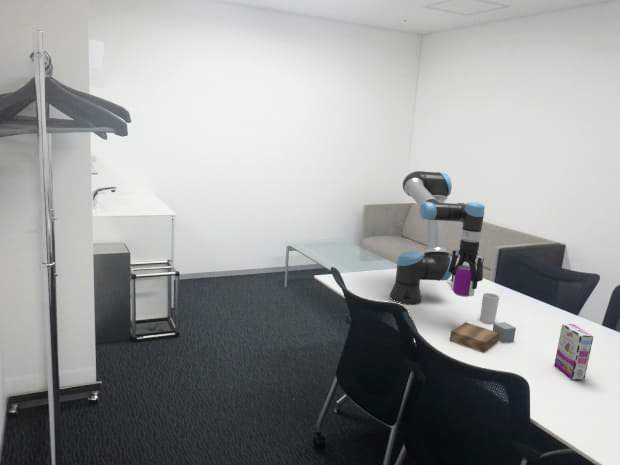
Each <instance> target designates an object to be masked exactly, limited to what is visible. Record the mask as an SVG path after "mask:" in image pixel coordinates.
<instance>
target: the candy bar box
mask: <svg viewBox="0 0 620 465" xmlns="http://www.w3.org/2000/svg"><path fill="white" fill-rule="evenodd" d="M593 342H594V336H593V335H591V334H590V333H589V332H587V331H586V330H584V329H582V328H580V327H579V326H577V325H576V324H572V323H569V324H568V323H561V328H560V335H559V338H558V343H557V350H556V354H555V359H554V366H555V368H557V369H558V370H559V371H560V372H562V373H563V375H564V376H565V375H566V376H567V377H568V378H569V379H570V380H571V381H585V379H586V374H587V370H588V363H589V359H590V355H591V350H592V345H593Z"/></svg>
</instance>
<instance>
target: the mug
mask: <svg viewBox="0 0 620 465" xmlns="http://www.w3.org/2000/svg"><path fill="white" fill-rule="evenodd" d="M499 300H500V296H499V295H498V294H496V293H492V292H484V293H483V294H482V299H481V301H482V303H481V308H480V315H479V316H480V318H479V320H480V321H481V322H482V323H485V324H494V323H496V322H495V321H496V317H497V313H498V307H499Z"/></svg>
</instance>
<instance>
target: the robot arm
mask: <svg viewBox="0 0 620 465" xmlns="http://www.w3.org/2000/svg"><path fill="white" fill-rule="evenodd" d="M452 185H453V184H452V179H451V177H450V176H449V174H448V173H445V172H439V171H437V172H435V171H421V170H418V171H417V170H416V171H413V172H409V174H408V175H406V176H405V177H404V179H403V182H402V189H403V191H404V193H405V194H406V195H407V196H408V197H411V198H412V199H413V201H414V202H415V203H416V204H417V205H418V206H419V214H420V218H421V219H423V220H426V245H427V246H426V248H427V249H426V250H425V251H424V253H422V252H421V251H413V250H411V251H405V252H401V253H400V254H398V258H397V262H396V270H395V271H396V274H395V281H394V284H393V286H392V289H391V291H390V293H389V298H390V297H391V298H392V299H393V300H395V301H398V302H397V303H398V304H404V305H410V304H411V305H418V304H421V303H422V298H423V296H422V294H421V287H420V284H421V281H422V280H423V281H438V282H440V281H447V280H449V279H450V278H451V279H450V281H452V282H453V283H452V286H451V291H453V289H454V282H455V275H456V270H457V268H458V266H461V265H463V263H464V262H467V263H468V264H469V266H470V269H471V275H472V280H473V281H471V283H470V289H469V297H473V296H474V295H475V290H477V287H478V282H482V281H483V279H484V278H483V277H484V276H483V275H484V265H483V264H484V260H485V257H484V256H479V254H478V252H479V250H480V249H479V248H480V241H481V235H482V227H483V224H484V217H485V205H484V204H483V203H479V202H467V203H464V202H457V203H451V202H450V203H448V202H446V201H447V199H448V197H449V196H450V195H451V193H452V190H453V189H452ZM445 221H446V222H459V223H462V227H461V237H460V238H461V239H460V242H459V250H458V249H456V250H452V251H451V252H452V256H449V255H450V254H449V251H448V250H447V249H446V225H445V224H446V222H445ZM457 259H459V260H458V263H457V265H456V262H457ZM393 300H392V301H393ZM395 301H394V302H395ZM399 302H401V303H399Z"/></svg>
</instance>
